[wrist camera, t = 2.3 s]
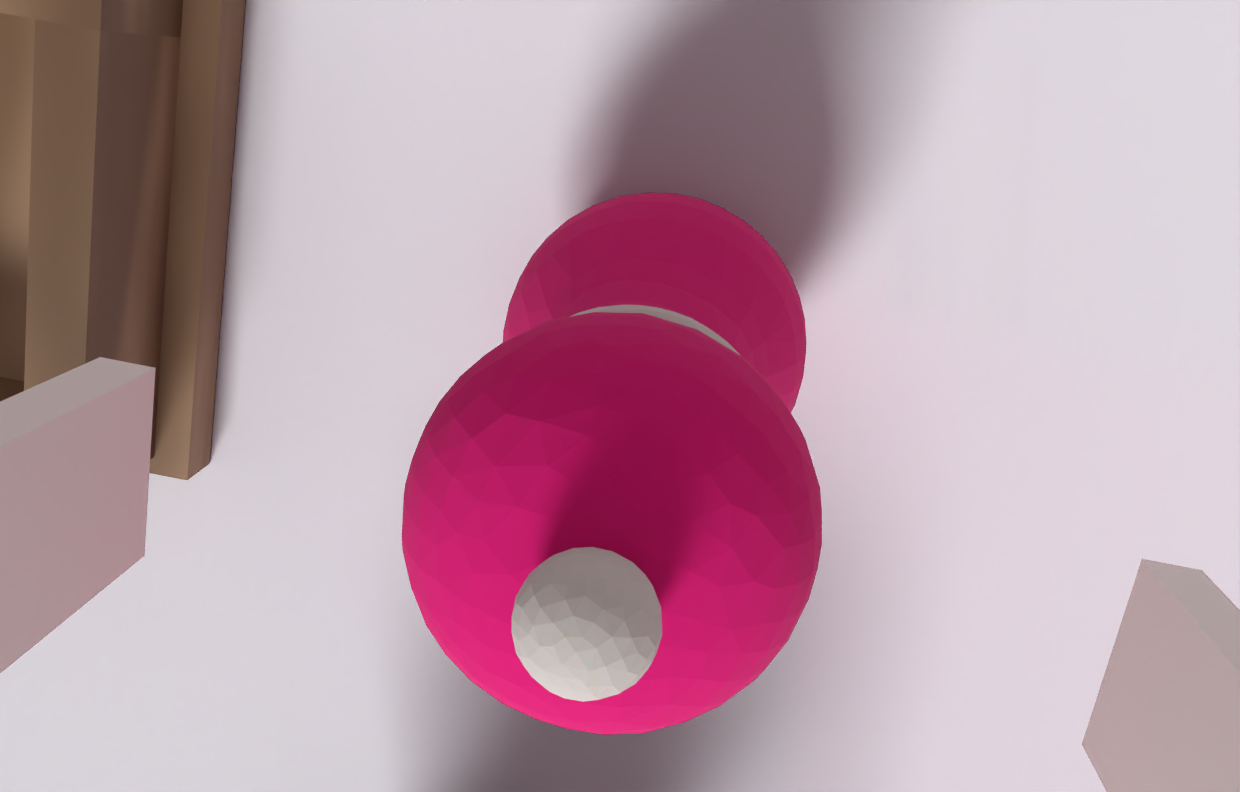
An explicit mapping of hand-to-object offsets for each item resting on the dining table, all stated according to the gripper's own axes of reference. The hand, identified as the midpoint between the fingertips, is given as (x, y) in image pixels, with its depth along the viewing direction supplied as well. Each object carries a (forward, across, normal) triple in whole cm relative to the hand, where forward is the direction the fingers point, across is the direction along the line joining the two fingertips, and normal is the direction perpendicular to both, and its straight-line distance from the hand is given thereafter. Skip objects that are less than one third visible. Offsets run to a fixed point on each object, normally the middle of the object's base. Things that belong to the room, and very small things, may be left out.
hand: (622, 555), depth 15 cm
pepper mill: (+18, 0, 0) cm, 18 cm away
